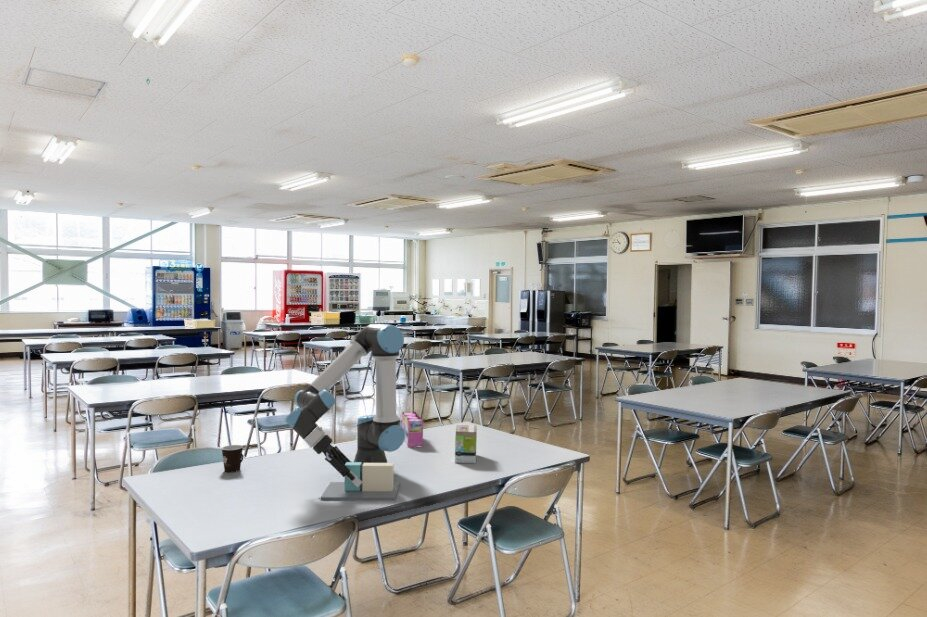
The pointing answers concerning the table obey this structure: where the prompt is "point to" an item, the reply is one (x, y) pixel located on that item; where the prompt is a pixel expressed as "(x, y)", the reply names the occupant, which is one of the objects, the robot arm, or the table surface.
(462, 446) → the tea box
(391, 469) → the ticket stand
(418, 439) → the pink drink carton pack
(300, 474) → the table surface
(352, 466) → the stub
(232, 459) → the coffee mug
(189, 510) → the table surface
